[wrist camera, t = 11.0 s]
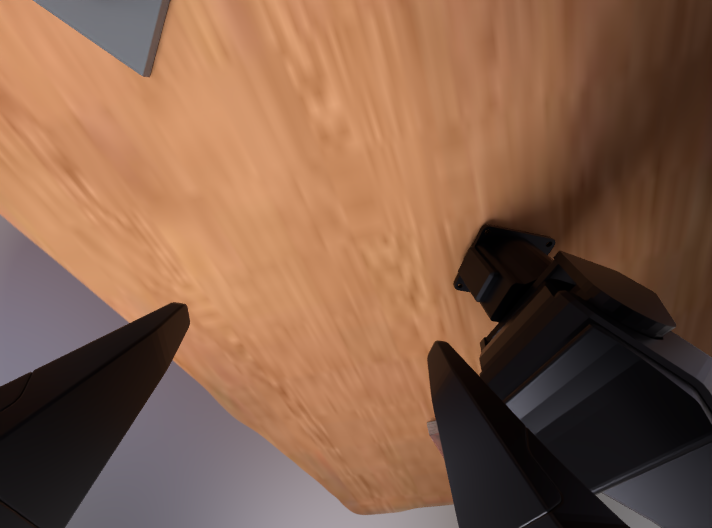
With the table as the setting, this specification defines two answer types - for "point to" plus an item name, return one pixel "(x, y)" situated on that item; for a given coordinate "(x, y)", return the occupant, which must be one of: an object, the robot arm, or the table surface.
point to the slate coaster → (116, 26)
